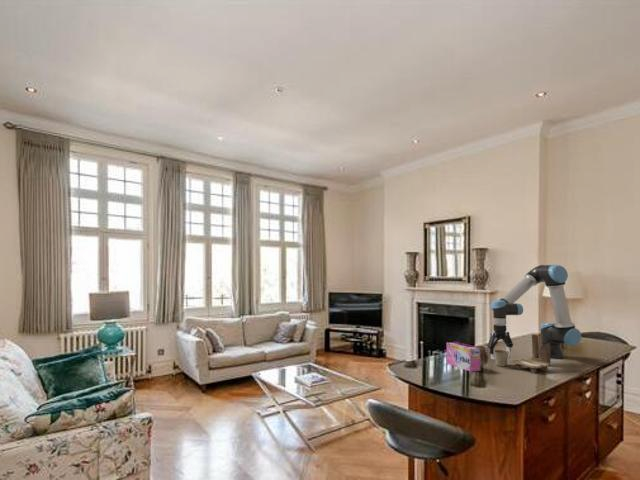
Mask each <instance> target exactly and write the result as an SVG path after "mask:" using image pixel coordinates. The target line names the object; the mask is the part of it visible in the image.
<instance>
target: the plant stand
mask: <svg viewBox="0 0 640 480" xmlns="http://www.w3.org/2000/svg"><path fill="white" fill-rule="evenodd" d="M511 363H513V364H515V369H517V370H521V369H522V366H525V367H527V368H529V369H530V373H531V374H537V368H538V369H539V368H541V370H542V372H548V367H551V366H552V363H551V364H550V363H546V362H542V361H537V360H533V359H532V358H522V359H516V360H511Z"/></svg>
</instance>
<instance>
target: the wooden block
mask: <svg viewBox="0 0 640 480" xmlns="http://www.w3.org/2000/svg"><path fill="white" fill-rule="evenodd" d="M531 341H532V342H531V346H532V347H531V348H532V357H531V358H530V359H533V360H537V361H542V362H546V363H550V364H551V365H552V363H551V358H550V343H547V344H545V345H544V346H543V347H542V348H541V347H540V348H541V349H540V348H539V346H540V344H539V335H538V334H532V335H531ZM539 353H540V354H542V357H540V356H539Z"/></svg>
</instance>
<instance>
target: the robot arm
mask: <svg viewBox="0 0 640 480" xmlns="http://www.w3.org/2000/svg"><path fill="white" fill-rule="evenodd" d="M568 276H569V273H568V271H567V269H566V268H565V267H564V266H562V265H559V264H541V265H538V266H536V267H535V266H534V267H533V268H532V269H530V270H529V271H528V272H527V273H526V274H525V275H524V277H523V279H522V280H520V281H518V283H517V284H516V285H514V286H513V287H512V288H511V289H510V290H509V291H507V293H506V294H505V295H503V296H502V297H501V298H500V299H499V300H498V299H496V300H493V301H492V302H491V305H490V309H491V311H492V314H493V315H492V316H493V317H492V318H493V319H492V321H493V331H494V332H490V336H489V340H488V344H487V346H486V348H488V349H489V353H490V359H491V360H495V350H496V349H495V347H496V346H497V343H498V342H499V341H500V340H502V341H503V343H504V344H505V351H508V352H509V353H508V358H507V359H511V350H512V349H511V348H513V346H514V343H513V341H512V338H511V335H510V331H507V316H521V315H523V312H524V306H523V305H522V304H521V303H518V302H517V303H516V301H518V300H519V299H520V298H521V297H522V296H523V295H525V294H526V293H527V292H528V291H530V289H531V288H532V287H533V286H534V287H535V286H537V285H539V284H540V283H544V284H545V287H547V288H548V291H549V295H550V299H551V305H552V309H553V313H554V318H555V322H554V323H553V322H550V323H549V322H546V323H541V324H540V338H541V339H540V342H541V345H540V348H539V350H540V349H541V348H542V347H543V346H544V345H545V344H547V343H550V359H558V360H560V359H564V358H565V354H564V352H563V348H562V346H561V345H564V346H570V347H573V346H577V345H579V343H580V342H581V340H582V333H581V331H580V330H579V329H578V328H576V325H575V323H574V322H572V320H571V315H570V314H571V313H570V311H569V310H570V309H569V307H568V301H567V298H566V296H567V295H566V292H565V291H566V290H565V288H564V286H566V281H567V280H568ZM539 357H540V358H542V354H540V353H539Z"/></svg>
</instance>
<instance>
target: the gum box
mask: <svg viewBox="0 0 640 480" xmlns="http://www.w3.org/2000/svg"><path fill="white" fill-rule="evenodd" d="M446 364H448V365H452V366H454V367H457V368H460V369H463V370H465V371H468V372H479V371H482V369H481V365H482V364H481V348H480V347H477V346H474V345H470V344H468V343H467V344H466V343H462V342H460V341H453V342H446Z"/></svg>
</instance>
